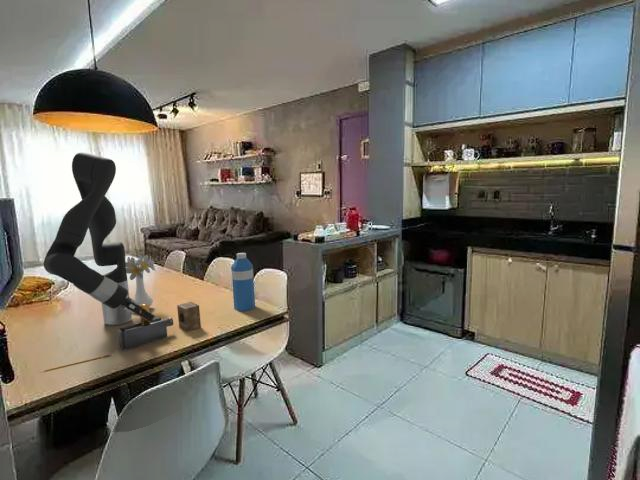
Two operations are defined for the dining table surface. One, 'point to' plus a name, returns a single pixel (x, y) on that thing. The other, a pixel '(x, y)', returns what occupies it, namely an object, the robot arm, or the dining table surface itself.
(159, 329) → the sleeve
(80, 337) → the dining table surface
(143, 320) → the tube
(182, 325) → the socket block
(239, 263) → the water bottle
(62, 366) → the pencil
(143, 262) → the flower vase
